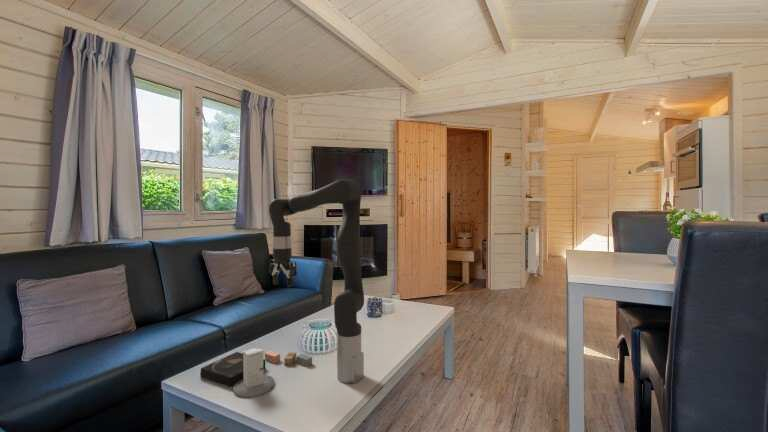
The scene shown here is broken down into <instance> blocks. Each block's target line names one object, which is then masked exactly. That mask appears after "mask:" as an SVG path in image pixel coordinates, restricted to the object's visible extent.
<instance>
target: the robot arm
mask: <svg viewBox="0 0 768 432" xmlns="http://www.w3.org/2000/svg"><path fill="white" fill-rule="evenodd" d="M361 199H362V190H361V186H360V185H359V183H358V182H357V181H355V180H351V179H341V178H340V179H338V180H336V181H333V182H331V183H330V184H327V185H325V186H322V187H321V188H318V189H314V190H311V191H307V192H302V193H298V194H295V195H292V196H291V197H290V198H287V199H286V198H275V199H273V200H271V201H270V203H269V205H268V214H269V218H270V220H271V221H270V222H271V224H272V229H273V233H272V234H273V236H272V258H273V259H272V258H271V259H269V260H268V263H269V264H268V274H269V275H271V276H272V284H273V285H274V286H276V285H279V273H280V272H282V273H284V275H286V277H287V278H286V279H287V280H286V281H287V282H286V284H287V285H286V286H287V287H288V288H291V287H293V285H294V278H295V277H297V274H298V273H297V271H298V270H297V262H296V261H292V262H291V259H292V255H293V254H292V253H293V249H292V248H293V247H292V233H291V231H292V229H291V223H290V222H289V221H286V220H285V218H284V217H288V216H291V215H292V216H293V215H295V214H298V213H301V212H306V211H310V210H312V209H315V208H317V207H320V206H322V205H330V204H338V205H339V204H340V205H342V219H341V223H340V225H339V229H338V231H337V233H336V234H337V235H336V241H335V242H336V248H335V249H336V258H337V261H338V264H339V267H340V268H341V271H342V273H343V276H344V290H343V292H340V293H339V294H338V295H336V297H335V298H334V303H333V316H334V326H335V328H336V363H337V364H336V367H337V371H336V372H337V373H336V377H337V380H338V381H339V382H342V383H345V384H355V383H357V382H358V381H359V380H361V379H362V378H364V377H365V373H364V369H365V366H364V365H365V363H364V359H365V358H364V355H365V354H364V352H363V351H362V325H361V324H360V323H359V322H358V316H357V313H359V312H360V311H361V310H362V309H363V307H364V305H365V296H364V294H365V293H364V287H363V280H362V258H361V257H362V252H361V251H362V250H361V249H362V246H361V245H362V244H361V243H362V242H361V222H360V221H361V220H360V219H361V218H360V216H361V215H360V214H361V201H362V200H361Z"/></svg>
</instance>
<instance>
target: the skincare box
mask: <svg viewBox="0 0 768 432" xmlns="http://www.w3.org/2000/svg"><path fill="white" fill-rule="evenodd" d="M263 359H264V350H263V349H262V348H261V347H256V348H255V347H254V348H250V349H247V350H244V351H243V374H244V385H245V386H246V388H250V387H254V386H257V385H260V384H263V375H264V369H263Z"/></svg>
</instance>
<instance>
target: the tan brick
mask: <svg viewBox="0 0 768 432" xmlns="http://www.w3.org/2000/svg"><path fill="white" fill-rule="evenodd" d="M283 359H284V361H283V362H284V366H292V365H293V364H294V363H295V362H296V361H297V352H296V351H295V352H294V351H289V352H288V353H287V354H286V356H285V357H284V358H283Z"/></svg>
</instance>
